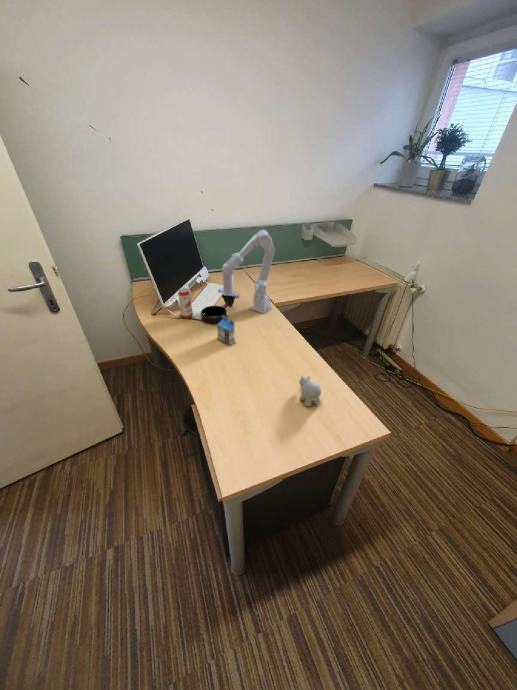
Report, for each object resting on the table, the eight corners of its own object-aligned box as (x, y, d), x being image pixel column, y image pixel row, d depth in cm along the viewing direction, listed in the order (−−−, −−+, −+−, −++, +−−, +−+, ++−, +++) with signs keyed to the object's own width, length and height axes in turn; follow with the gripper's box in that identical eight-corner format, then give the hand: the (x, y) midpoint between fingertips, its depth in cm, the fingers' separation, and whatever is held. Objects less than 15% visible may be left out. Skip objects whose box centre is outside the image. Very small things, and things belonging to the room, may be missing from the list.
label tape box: (217, 338, 138) (215, 317, 131) (223, 335, 140) (222, 314, 133) (229, 345, 133) (228, 324, 126) (235, 342, 136) (234, 321, 128)
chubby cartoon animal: (308, 384, 113) (311, 368, 108) (322, 405, 104) (325, 389, 99) (292, 387, 111) (294, 371, 106) (304, 409, 102) (307, 393, 97)
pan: (242, 310, 163) (242, 304, 160) (215, 327, 147) (214, 320, 144) (224, 303, 169) (223, 297, 167) (196, 319, 153) (195, 312, 151)
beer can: (195, 315, 156) (192, 289, 147) (188, 320, 152) (184, 293, 142) (186, 312, 158) (182, 287, 149) (179, 317, 154) (175, 291, 144)
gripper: (214, 283, 155) (215, 305, 163) (233, 290, 149) (234, 312, 157) (222, 280, 160) (223, 300, 168) (241, 286, 153) (242, 307, 161)
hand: (229, 306), depth 163 cm, fingers closed on pan, 2 cm apart
